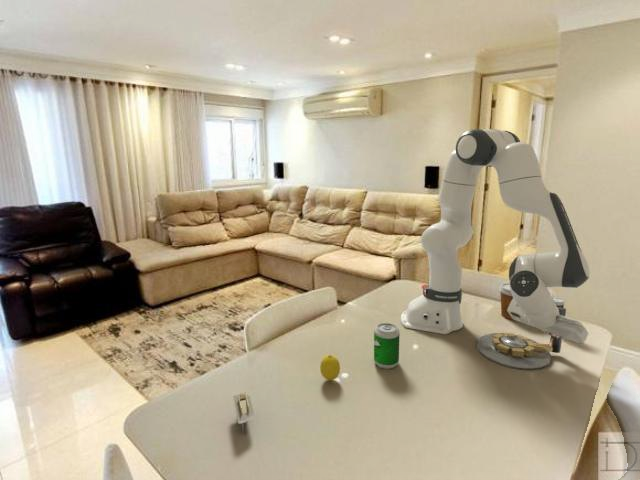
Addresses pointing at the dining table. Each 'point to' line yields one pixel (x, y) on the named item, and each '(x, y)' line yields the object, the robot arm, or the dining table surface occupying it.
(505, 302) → the disposable coffee cup
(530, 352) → the tan handled ring
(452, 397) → the dining table surface
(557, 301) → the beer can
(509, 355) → the flange
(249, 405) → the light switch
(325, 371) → the lemon
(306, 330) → the dining table surface
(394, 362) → the soda can
